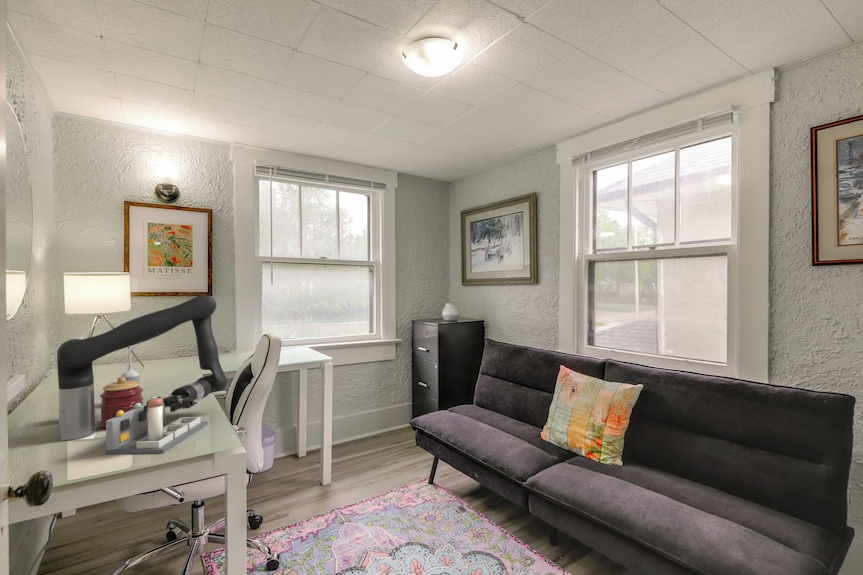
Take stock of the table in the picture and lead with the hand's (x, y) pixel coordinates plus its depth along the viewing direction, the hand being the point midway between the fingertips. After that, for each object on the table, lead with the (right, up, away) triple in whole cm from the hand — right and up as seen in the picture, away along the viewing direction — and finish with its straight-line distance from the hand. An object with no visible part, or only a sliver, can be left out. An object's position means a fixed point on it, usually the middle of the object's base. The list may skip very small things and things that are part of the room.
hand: (158, 409), depth 133 cm
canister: (-27, -12, +21) cm, 37 cm away
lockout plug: (0, -10, -2) cm, 11 cm away
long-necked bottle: (-43, -12, +47) cm, 65 cm away
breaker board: (-3, -12, +6) cm, 14 cm away
